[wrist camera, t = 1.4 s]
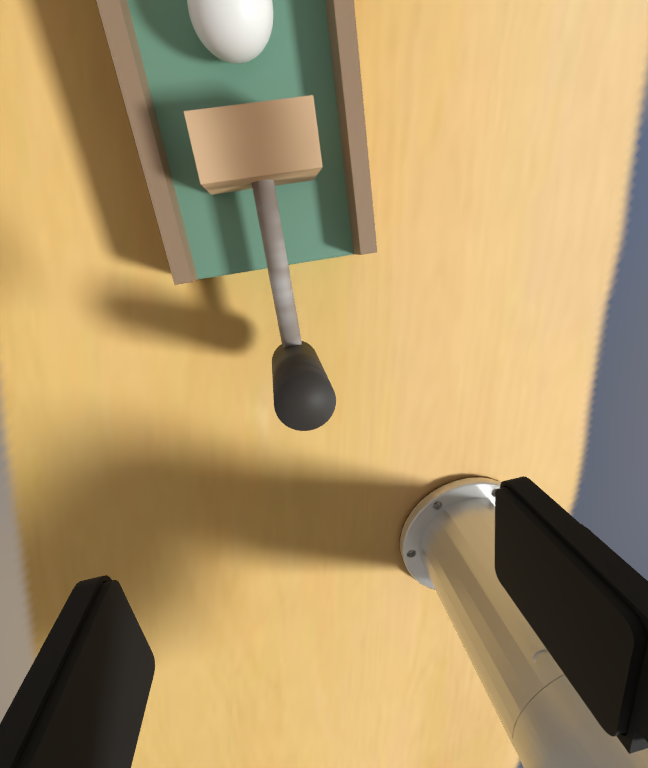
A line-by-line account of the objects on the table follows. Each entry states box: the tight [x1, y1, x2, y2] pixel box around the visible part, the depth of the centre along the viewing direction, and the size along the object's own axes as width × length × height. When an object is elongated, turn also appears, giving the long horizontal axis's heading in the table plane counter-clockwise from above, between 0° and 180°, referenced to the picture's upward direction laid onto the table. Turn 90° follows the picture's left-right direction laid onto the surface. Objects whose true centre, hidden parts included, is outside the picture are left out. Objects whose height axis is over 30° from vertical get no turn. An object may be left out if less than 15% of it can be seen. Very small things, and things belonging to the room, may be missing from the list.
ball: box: [187, 0, 273, 64], centre depth 18 cm, size 4×4×4 cm
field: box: [96, 0, 377, 285], centre depth 20 cm, size 12×26×5 cm, turn 8°
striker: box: [184, 95, 336, 431], centre depth 20 cm, size 6×15×8 cm, turn 8°
